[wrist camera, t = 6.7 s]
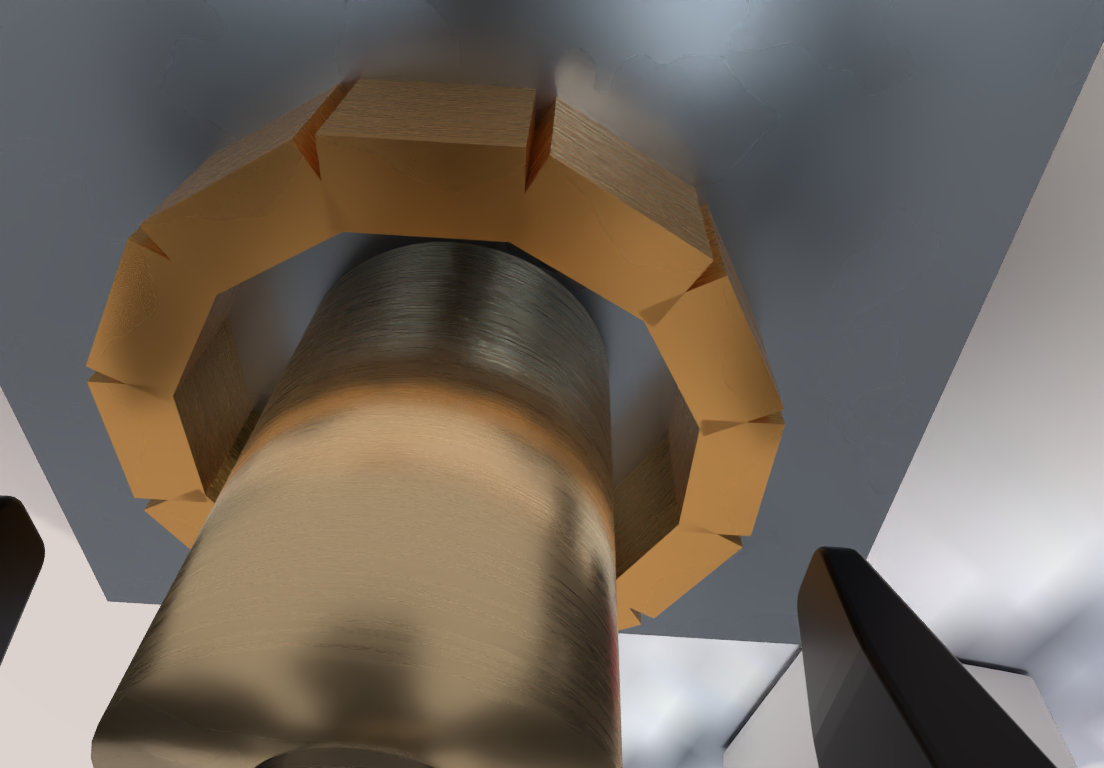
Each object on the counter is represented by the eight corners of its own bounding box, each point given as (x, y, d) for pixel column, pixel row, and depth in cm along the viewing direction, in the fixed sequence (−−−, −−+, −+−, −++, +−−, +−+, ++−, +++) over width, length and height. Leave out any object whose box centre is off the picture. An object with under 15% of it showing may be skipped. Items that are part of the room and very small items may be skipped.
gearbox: (971, -108, 11) (1279, -28, 6) (781, 481, 18) (851, 736, 13) (-198, -179, 11) (-834, -156, 6) (76, 437, 18) (-113, 675, 14)
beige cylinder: (624, 252, 10) (665, 804, 5) (595, 492, 13) (600, 1015, 7) (284, 231, 10) (-78, 757, 5) (328, 475, 13) (133, 987, 7)
